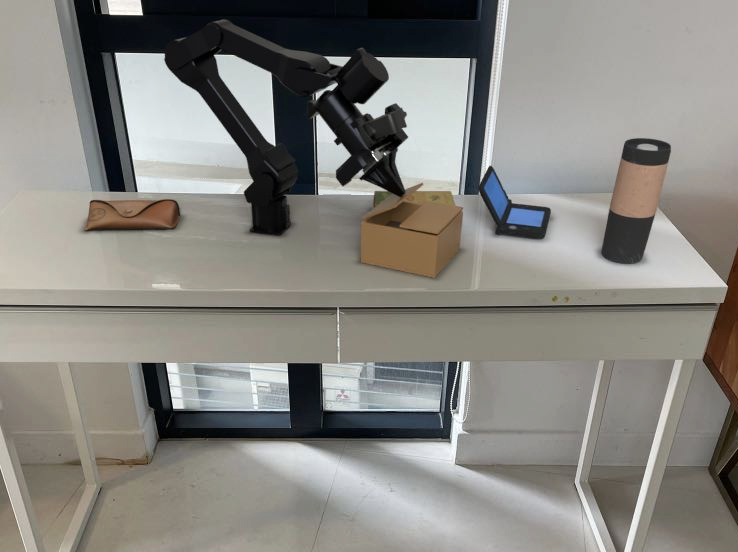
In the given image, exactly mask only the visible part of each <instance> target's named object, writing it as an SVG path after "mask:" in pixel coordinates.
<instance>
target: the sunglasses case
mask: <svg viewBox="0 0 738 552" xmlns="http://www.w3.org/2000/svg"><path fill="white" fill-rule="evenodd" d="M87 215H88V216H87V222H86V226H85V228H84V229H83V230H84V231H103V230H104V231H105V230H106V231H108V230H109V231H156V230H166V229H173V228H176V226H178V223H179V221H180V219H181V209H180V205H179V202H177V200H175V199H171V198H165V199H164V198H162V199H156V200H155V199H154V200H152V199H137V200H136V199H131V200H130V199H124V200H123V199H122V200H121V199H120V200H103V199H92V200H90V201H89V208H88V214H87Z"/></svg>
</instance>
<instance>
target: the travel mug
mask: <svg viewBox="0 0 738 552" xmlns="http://www.w3.org/2000/svg"><path fill="white" fill-rule="evenodd" d="M671 153H672V146H671V144H670V143H669V142H667V141H664V140H660V139H655V138H650V137H649V138H647V137H636V138H635V137H633V138H629V139H627V140H625V141H624V144H623V148H622V152H621V156H620V160H619V164H618V170H617V174H616V177H615V183H614V187H613V190H612V195H611V199H610V204H609V208H608V214H607V219H606V224H605V231H604V236H603V241H602V246H601V256H602V257H603V258H604V259H606V260H607V261H610V262H613V263H616V264H623V265H632V264H638V263H640V262H642V260H643V258H644V254H645V252H646V251H645V250H646V248H647V244H648V240H649V237H650V234H651V231H652V227H653V224H654V220H655V217H656V213H657V209H658V205H659V201H660V197H661V194H662V189H663V186H664V181H665V177H666V173H667V169H668V166H669V162H670V156H671Z"/></svg>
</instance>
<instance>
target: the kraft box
mask: <svg viewBox="0 0 738 552" xmlns="http://www.w3.org/2000/svg"><path fill="white" fill-rule="evenodd" d="M463 210H464V207H463V206H459V205H455V206H454V205H448V204H442V203H436V202H430V201H427V202H425V203H424V204H417V203H411V202H406V201H403V202H402V203H401V204H399V205H398V206H397V207H396V208H393V209H390V210H388V211H385V212H382V213H380V214H377V215H374V216H372V217H369V218H366V219H363V221H361V225H360V226H361V228H360V229H361V232H360V263H361V264H367V265H371V266H376V267H380V268H386V269H391V270H395V271H399V272H403V273H409V274H414V275H418V276H424V277H429V278H433V279H435V278H436V277H437V276H438V275H439V274H440V273H441V271H442V270H444V268H445V267H446V266H447V265H448V264H449V263H450V261H451V260H452V259H453V258H454V257H456V255H457V253H459V251H460V247H461V246H460V245H461V239H462V238H461V236H462V226H463V219H464V211H463ZM389 221H396V222H401V224H400V227H402V228H407V229H412V230H413V231H410V230H405V229H399V228H394V227H389V226H384V225H386V224H387V223H388V222H389Z"/></svg>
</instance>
